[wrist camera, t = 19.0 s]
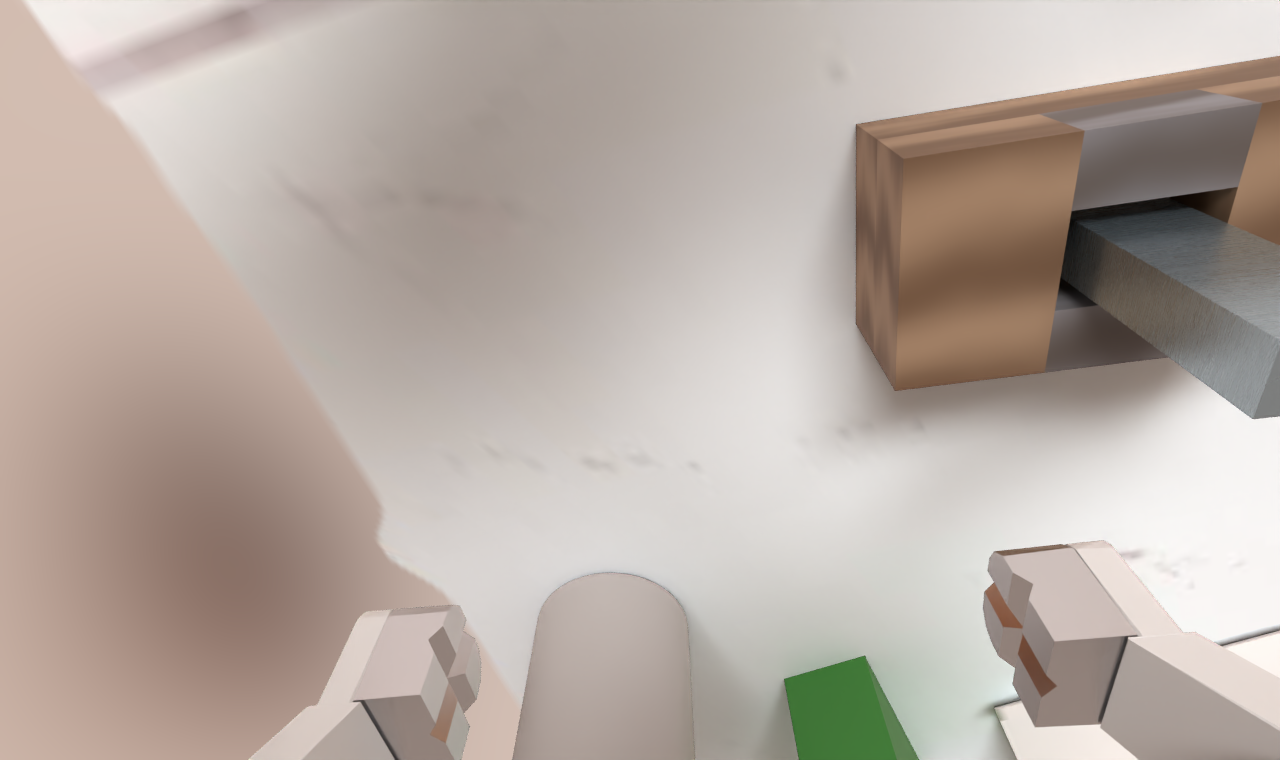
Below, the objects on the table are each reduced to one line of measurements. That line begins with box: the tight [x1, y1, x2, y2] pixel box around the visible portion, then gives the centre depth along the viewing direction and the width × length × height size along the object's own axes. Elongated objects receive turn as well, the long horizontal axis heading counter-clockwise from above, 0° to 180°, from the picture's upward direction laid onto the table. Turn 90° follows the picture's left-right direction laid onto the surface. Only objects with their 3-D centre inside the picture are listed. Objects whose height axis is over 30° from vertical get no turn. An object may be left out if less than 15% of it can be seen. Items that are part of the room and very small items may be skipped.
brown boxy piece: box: [856, 56, 1280, 391], centre depth 35 cm, size 12×22×8 cm, turn 99°
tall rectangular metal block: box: [1061, 197, 1280, 419], centre depth 28 cm, size 3×5×15 cm, turn 99°
